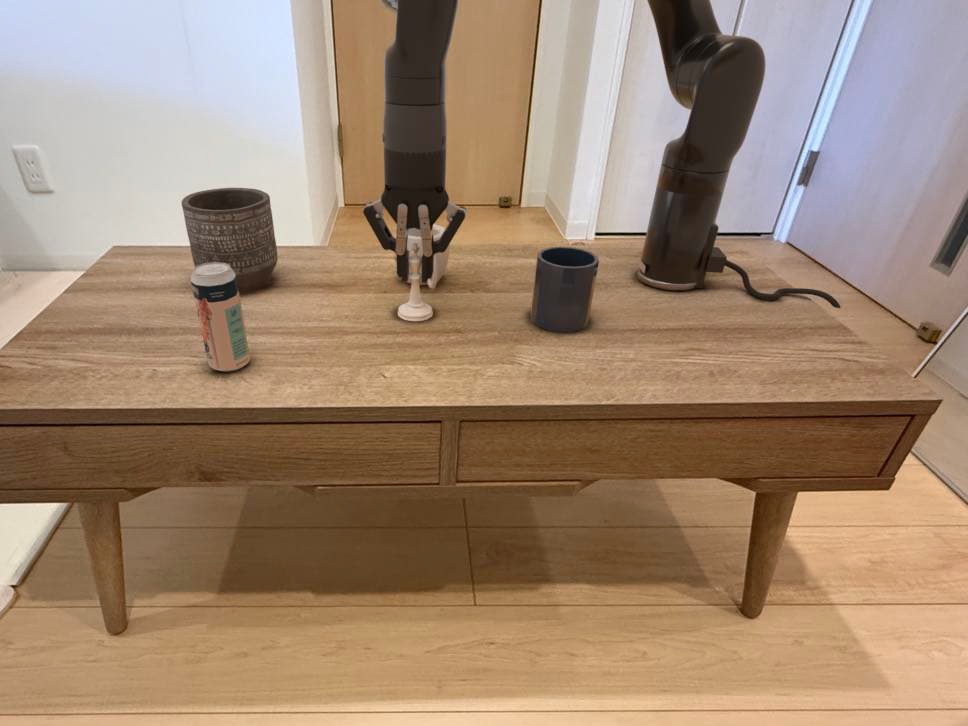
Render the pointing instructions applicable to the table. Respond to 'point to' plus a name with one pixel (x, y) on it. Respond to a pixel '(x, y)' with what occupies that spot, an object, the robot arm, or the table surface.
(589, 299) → the slate cup
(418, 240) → the mug
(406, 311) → the chess piece
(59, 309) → the table surface
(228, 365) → the beer can
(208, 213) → the planter
